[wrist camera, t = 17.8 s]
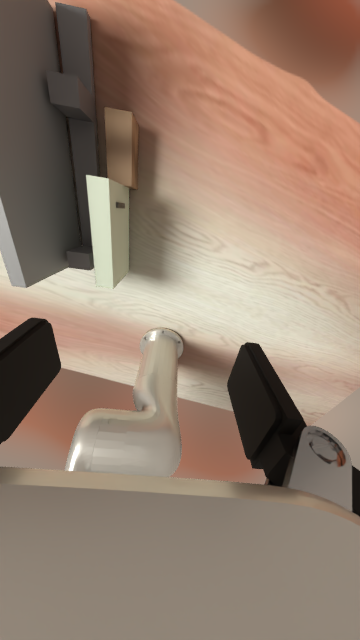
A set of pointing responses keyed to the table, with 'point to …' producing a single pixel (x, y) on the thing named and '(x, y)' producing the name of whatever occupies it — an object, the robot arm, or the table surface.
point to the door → (109, 229)
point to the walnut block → (122, 147)
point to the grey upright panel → (45, 139)
